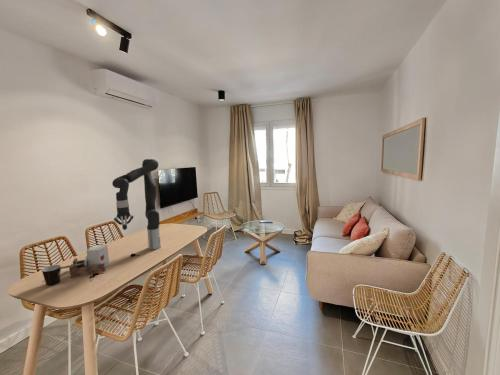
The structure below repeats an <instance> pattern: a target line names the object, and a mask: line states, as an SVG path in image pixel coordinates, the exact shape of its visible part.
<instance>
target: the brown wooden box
mask: <svg viewBox="0 0 500 375" xmlns="http://www.w3.org/2000/svg"><path fill="white" fill-rule="evenodd" d="M84 261H85V259H82V260H78V258H76V257H75V258H73V260H72V264H70V265H71V266H70V265H69V266H70V267H69V269H68V270H69V276H70V279H74V278H78V277H82V276H83V277H84V276H88V275H92V274H97V273H103V272H106V267H105V264H104V263H103V264H98V265H93V266H88V267H85V266H84V265H79V266H74V265H75V264H80V263H84Z"/></svg>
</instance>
